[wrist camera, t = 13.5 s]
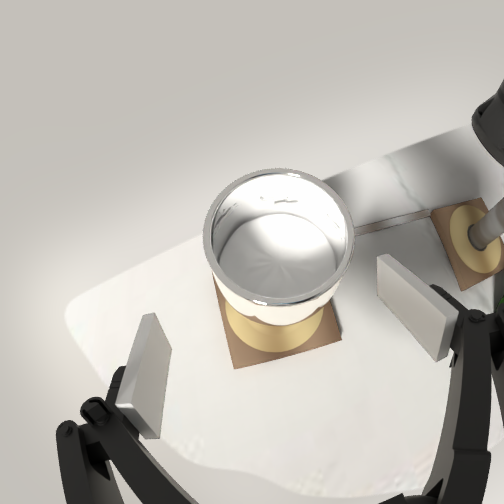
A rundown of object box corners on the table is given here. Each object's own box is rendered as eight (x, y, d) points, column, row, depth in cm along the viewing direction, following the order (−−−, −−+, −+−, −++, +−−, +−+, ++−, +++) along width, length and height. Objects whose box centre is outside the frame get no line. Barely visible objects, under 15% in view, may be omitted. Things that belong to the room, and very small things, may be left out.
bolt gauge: (475, 198, 30) (525, 139, 18) (506, 267, 26) (571, 223, 14) (212, 265, 29) (172, 193, 17) (235, 369, 25) (203, 373, 13)
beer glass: (230, 276, 27) (188, 183, 13) (301, 259, 27) (327, 153, 14) (246, 349, 25) (213, 330, 11) (322, 329, 25) (382, 285, 11)
